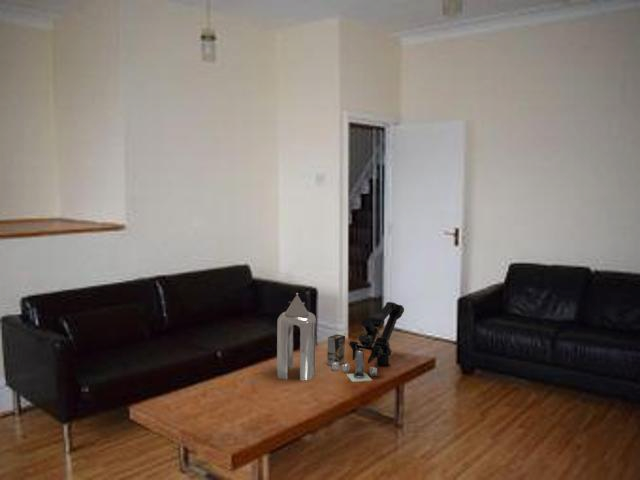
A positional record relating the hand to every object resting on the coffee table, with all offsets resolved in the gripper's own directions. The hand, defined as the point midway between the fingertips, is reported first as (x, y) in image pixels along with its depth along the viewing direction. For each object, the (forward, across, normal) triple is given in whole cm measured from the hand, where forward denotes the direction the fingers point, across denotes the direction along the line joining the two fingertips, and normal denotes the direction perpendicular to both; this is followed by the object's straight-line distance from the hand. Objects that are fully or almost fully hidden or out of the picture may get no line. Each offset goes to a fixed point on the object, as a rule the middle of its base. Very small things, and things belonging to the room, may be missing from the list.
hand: (360, 361), depth 311 cm
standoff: (+7, 0, +5) cm, 8 cm away
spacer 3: (+1, +4, +11) cm, 12 cm away
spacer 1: (+4, -18, +9) cm, 20 cm away
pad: (+7, 0, +5) cm, 9 cm away
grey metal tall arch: (+17, -32, -5) cm, 36 cm away
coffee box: (-2, -23, +15) cm, 28 cm away
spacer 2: (+3, -11, +9) cm, 15 cm away
